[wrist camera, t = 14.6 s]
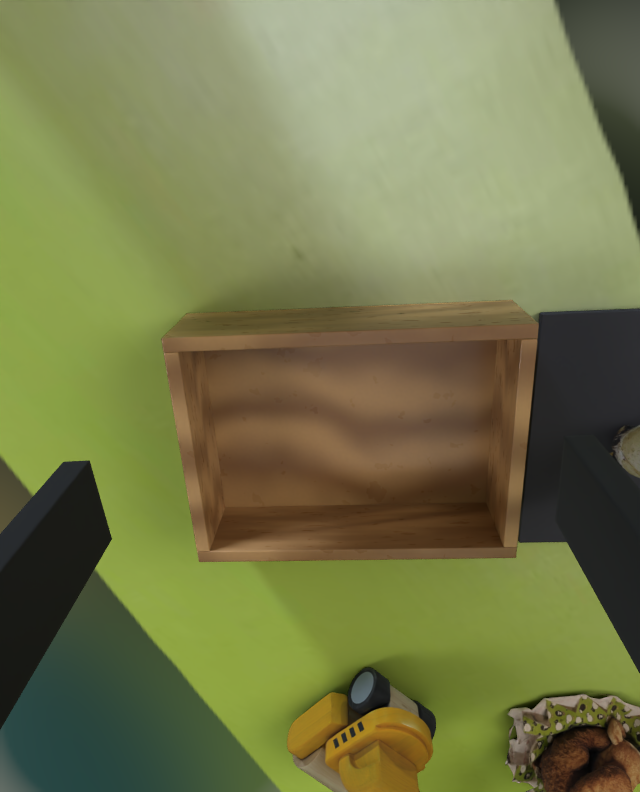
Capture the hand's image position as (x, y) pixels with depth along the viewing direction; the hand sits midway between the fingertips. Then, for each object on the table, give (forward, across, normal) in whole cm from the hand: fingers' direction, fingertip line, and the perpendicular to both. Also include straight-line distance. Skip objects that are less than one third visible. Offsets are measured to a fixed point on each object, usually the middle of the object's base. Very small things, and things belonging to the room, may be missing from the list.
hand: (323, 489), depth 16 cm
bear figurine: (+26, +21, -49) cm, 59 cm away
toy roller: (+27, -1, -44) cm, 52 cm away
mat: (+27, +22, -14) cm, 38 cm away
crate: (+27, 0, -11) cm, 29 cm away
